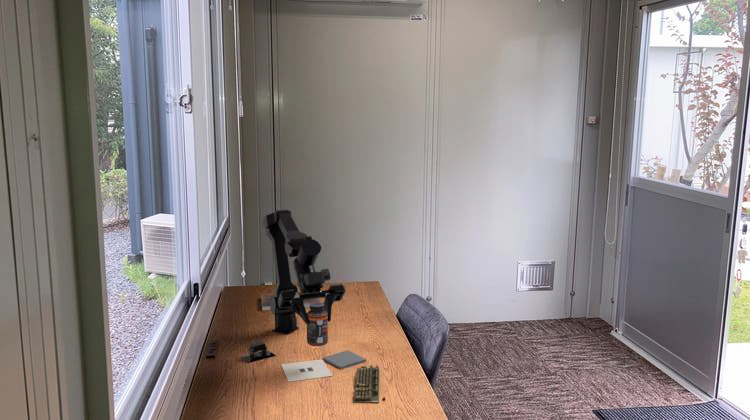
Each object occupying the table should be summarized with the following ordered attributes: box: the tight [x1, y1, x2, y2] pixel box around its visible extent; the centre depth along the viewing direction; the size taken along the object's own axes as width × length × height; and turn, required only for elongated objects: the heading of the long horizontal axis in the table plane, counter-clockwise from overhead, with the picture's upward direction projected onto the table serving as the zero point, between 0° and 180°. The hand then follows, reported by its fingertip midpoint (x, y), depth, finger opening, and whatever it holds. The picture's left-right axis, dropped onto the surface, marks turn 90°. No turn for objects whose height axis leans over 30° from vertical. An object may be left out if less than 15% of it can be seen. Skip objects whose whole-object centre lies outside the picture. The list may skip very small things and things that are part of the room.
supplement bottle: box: [306, 302, 329, 347], centre depth 170 cm, size 6×6×11 cm
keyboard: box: [353, 364, 387, 404], centre depth 160 cm, size 22×9×2 cm, turn 179°
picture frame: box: [260, 291, 322, 311], centre depth 233 cm, size 16×2×22 cm
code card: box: [281, 358, 333, 383], centre depth 169 cm, size 12×12×1 cm
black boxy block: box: [238, 340, 277, 364], centre depth 179 cm, size 12×7×5 cm, turn 126°
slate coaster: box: [322, 350, 367, 370], centre depth 176 cm, size 9×9×1 cm
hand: (319, 322), depth 169 cm, fingers closed on supplement bottle, 6 cm apart
